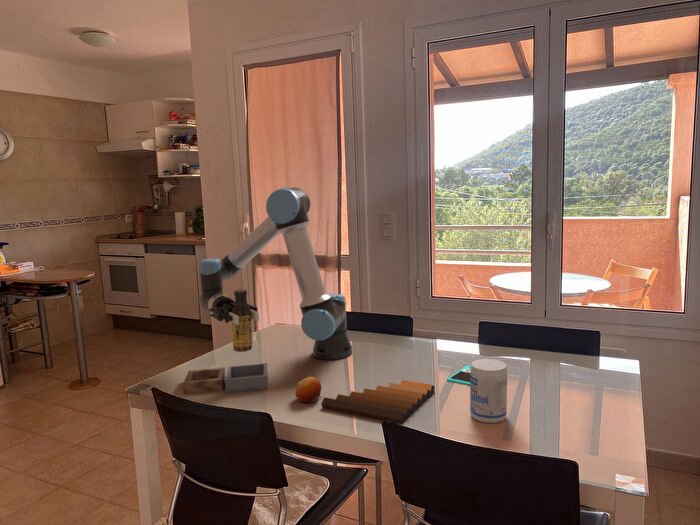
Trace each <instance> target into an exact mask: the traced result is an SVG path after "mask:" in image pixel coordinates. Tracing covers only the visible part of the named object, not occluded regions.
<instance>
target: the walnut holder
mask: <svg viewBox="0 0 700 525" xmlns="http://www.w3.org/2000/svg"><path fill="white" fill-rule="evenodd" d="M225 378H226V367H225V366H224V367H214V368H213V367H212V368H204V369H203V368H201V369H192V370H188V371H187V374H186V376H185V378H184V381H183V383H182V384H183V386H182V387H183V394H185V393H186V394H194V393H193V392H196V393H203V391H207V392H213V391H212V390H217V391H222V389H223V388H224V384H225ZM186 394H185V395H186Z"/></svg>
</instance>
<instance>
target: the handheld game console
mask: <svg viewBox="0 0 700 525" xmlns="http://www.w3.org/2000/svg"><path fill="white" fill-rule="evenodd" d="M470 370H471V365H466V366H464V367H463V368H461V369H460V370H458V371H456V372H455V373H453V374H452V375H450V376H449V377H447V378H446V381H447V382H450V381H453V382H452V383H454V382H456V384H459V383H462V384H461V385H464V386H465V385H466V386H469V387H470Z"/></svg>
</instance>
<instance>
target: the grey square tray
mask: <svg viewBox="0 0 700 525" xmlns="http://www.w3.org/2000/svg"><path fill="white" fill-rule="evenodd" d="M226 370H227V371H226V373H225V376H226V377H225V381H224V384H225V394H236V393H245V392H247V393H248V392H257V391H265V390H266V391H267V390H268V387H269V385H268V384H269V382H268V380H269V374H268V373H269V372H268V362H265V363H263V362H262V363H254V364H253V363H252V364H241V365H229V366H227V369H226Z"/></svg>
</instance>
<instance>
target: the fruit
mask: <svg viewBox="0 0 700 525" xmlns="http://www.w3.org/2000/svg"><path fill="white" fill-rule="evenodd" d="M321 391H322V383H321V381H320V380H319V379H318V378H316V377H315V376H308V377H305V378H303V379H301V381H298V382H297V383H296V386H295V397H296V399H297V400H298V401H300V402H301V403H304V404H305V403H306V404H308V403H311V402H312V403H313V402H314V403H317V400H318V398H322V396H321V393H322V392H321Z"/></svg>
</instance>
